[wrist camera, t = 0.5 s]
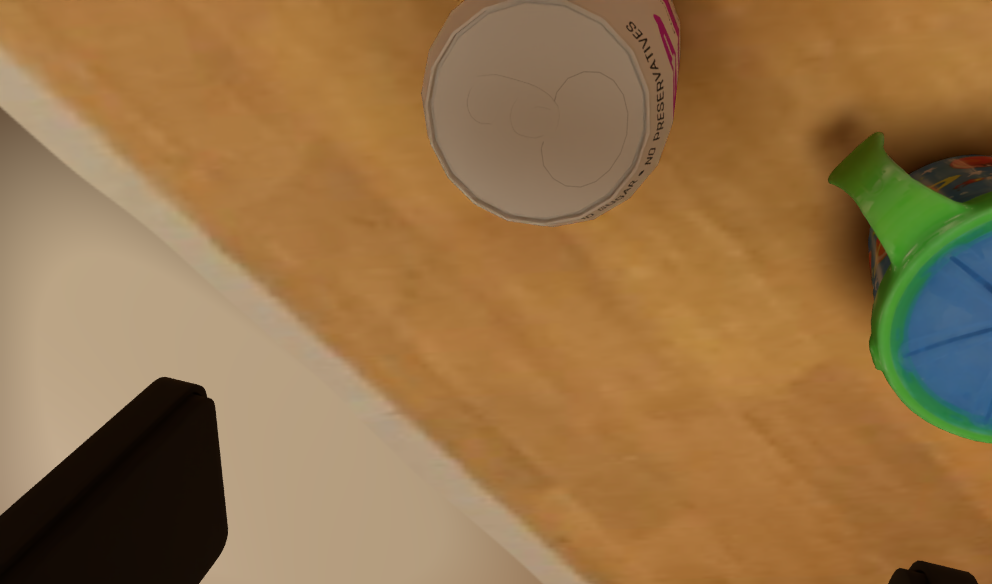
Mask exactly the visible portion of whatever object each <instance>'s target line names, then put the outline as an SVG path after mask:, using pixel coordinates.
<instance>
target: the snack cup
mask: <svg viewBox="0 0 992 584" xmlns="http://www.w3.org/2000/svg"><path fill="white" fill-rule="evenodd" d="M883 146H884V135H883V133H881V132H876V133H874V134H872V135H871V136H869V137H868V138H867V139H866V140H865V141H863V142H862V143H861V144H860V145H859V146H858V147H856V148H855V149H854V150H853V151H852V153H850V154H849V155H848V156H847V157H846V158H845V159H844V160H843V161H842V162H841V163H840V164H839V165H838V166H837V167H836V168H835V169H834V170H833V171H832V173H831V174H830V176H829V178H828V182H829V183H830V184H833V185H835V186H837V187H839V188H841V189H842V190H844V191H845V192H846V193H847V194H849V195H850V196H851V197H852V198H853V199H854V201H855V202H856V204H857V205H858V206H859V208H860V210H861V212H862V213H863V215H864V216H865V218H866V220H867V221H868V223H869V224H870V233H869V238H868V247H869V264H870V272H871V280H872V285H873V288H874V289H873V296H874V304H873V309H872V318H871V336H870V340H869V348H870V352H871V356H872V359H873V362H874V365H875V367H876V369H877V370H881V371H882V372H883V374H884V376H885V378H886V380H887V381H888V383H889V385H890V386H891V387H892V389H893V390H894V392H895V393H896V394H897V396H898V397H899V398H900V400H901V401H902V402H903V403H904V404H905V405H906V406H907V407H908V408H909V409H910V410H911V411H913V412H914V413H915V414H917V415H918V416H920V417H921V418H922V419H924V420H925V421H927V422H929V423H930V424H932V425H934V426H936V427H938V428H940V429H942V430H945V431H947V432H949V433H952V434H955V435H958V436H960V437H963V438H967V439H971V440H974V441H979V442H985V443H992V156H985V155H963V156H957V157H952V158H947V159H943V160H940V161H937V162H934V163H931V164H929V165H926V166H924V167H922V168H920V169H918V170H916V171H914V172H912V173H911V174H909V175H908V174H907V173H906V172H905V171H904V170H903V169H902V168H901V167H900V166H899V165H897V164H896V163H895V162H894V161H893V160H892V158H891V157H890V156H888V155H887V153H886V152H885V150H884V148H883Z"/></svg>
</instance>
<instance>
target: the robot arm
mask: <svg viewBox="0 0 992 584" xmlns="http://www.w3.org/2000/svg"><path fill="white" fill-rule="evenodd" d="M227 536H228V525H227V515H226V506H225V496H224V487H223V477H222V467H221V458H220V448H219V439H218V430H217V420H216V411H215V405H214V401H213V400H212V399H210V398H207V394H206V391H205V389H204V388H203V387H202V386H200V385H197V384H193V383H189V382H185V381H180V380H176V379H172V378H168V377H161V378H159V379H157V380H155V381H154V382H153V383H152V384H150V385H149V386H148V387H147V388H146V389H145V390H144V391H142V392H141V393H140V394H139V395H138V396H137V397H136V398H134V399H133V400H132V401H131V402H130V403H129V404H127V405H126V406H125V407H124V408H123V409H122V410H121V411H120V412H118V413H117V414H116V415H115V416H114V417H113V418H111V419H110V420H109V421H108V422H107V423H106V424H105V425H104V426H102V427H101V428H100V429H99V430H98V431H97V432H96V433H94V434H93V435H92V436H91V437H90V438H89V439H87V440H86V441H85V442H84V443H83V444H82V445H81V446H79V447H78V448H77V449H76V450H75V451H74V452H73V453H71V454H70V455H69V456H68V457H67V458H66V459H65V460H63V461H62V462H61V463H60V464H59V465H58V466H57V467H55V468H54V469H53V470H52V471H51V472H50V473H49V474H47V475H46V476H45V477H44V478H43V479H42V480H41V481H39V482H38V483H37V484H36V485H35V486H34V487H32V488H31V489H30V490H29V491H28V492H27V493H26V494H25V495H23V496H22V497H21V498H20V499H19V500H18V501H16V502H15V503H14V504H13V505H12V506H11V507H10V508H9V509H8V510H6V511H5V512H4V513H3V514H2V515H1V516H0V584H199V583H200V582H201V580H202V579H203V578H204V576H205V575H206V574H207V572H208V571H209V569H210V568H211V567H212V565H213V564H214V563H215V561H216V560H217V558H218V557H219V556H220V554H221V552H222V550H223V548H224V546H225V543H226V540H227ZM888 584H978V583H977V581H976V579H975V577H974V576H973V575H971V574H970V573H969V572H965V571H961V570H957V569H953V568H949V567H945V566H941V565H937V564H932V563H928V562H924V561H916V562H915V563H913V564H912V566H911V567H910V568H909V570H907V569H902V568H899V569H897V570H896V571H895V572H894V574H893V575H892V577H891V579H890V581H889V583H888Z"/></svg>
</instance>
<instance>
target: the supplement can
mask: <svg viewBox="0 0 992 584" xmlns="http://www.w3.org/2000/svg"><path fill="white" fill-rule="evenodd" d="M679 63H680V21H679V18H678V15H677V13H676V10H675V7H674V5H673V2H672V0H465V1H464V2H462V3H461V4H460V5H459V6H457V7H456V8H455V9H454V10H453V11H451V13H450V15H449V17H448V18H447V20H446V22H445V23H444V25H443V27H442V29H441V30H440V32H439V34H438V36H437V37H436V39H435V41H434V42H433V44H432V46H431V48H430V49H429V53H428V59H427V64H426V70H425V75H424V81H423V87H422V92H421V95H422V101H423V108H424V114H425V121H426V127H427V134H428V137H429V139H430V144H431V146H432V148H433V150H434V152H435V154H436V156H437V157H438V159H439V161H440V163H441V165H442V167H443V169H444V171H445V173H446V175H447V177H448V178H449V179H450V180H451V181H452V182H453V183H454V184H455V185H456V186H457V187H458V188H459V189H460V190H461V191H462V192H463V193H464V194H465V195H466V196H467V197H468V198H469V199H470V200H471V201H472V202H473V203H474V204H475V205H477V206H479V207H481V208H483V209H485V210H487V211H489V212H491V213H493V214H495V215H497V216H499V217H501V218H503V219H505V220H507V221H512V222H519V223H526V224H533V225H540V226H550V227H556V226H561V225H566V224H572V223H577V222H582V221H587V220H593V219H595V218H597V217H598V216H600V215H602V214H604V213H605V212H607V211H609V210H610V209H612V208H614V207H616V206H617V205H619V204H621V203H622V202H624V201H626V200H628V199H629V198H630V197H631V196H632V195H633V194H634V193H635V191H636V190H637V189H638V188H639V187H640V185H641V184H642V183H643V182H644V181H645V179H646V178H647V177H648V176H649V175H650V174H651V172H652V171H653V170H654V169H655V168H656V166H657V165H658V163H659V160H660V157H661V154H662V151H663V149H664V146H665V143H666V140H667V138H668V135H669V132H670V129H671V126H672V124H673V117H674V108H675V99H676V90H677V81H678V72H679Z"/></svg>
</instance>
